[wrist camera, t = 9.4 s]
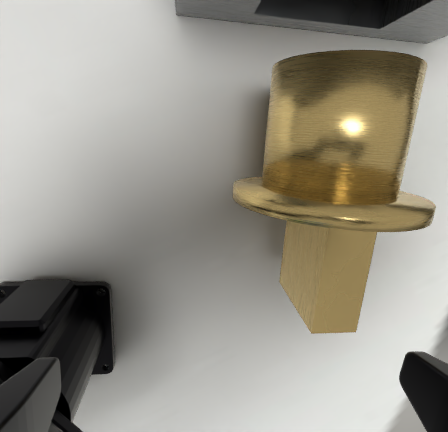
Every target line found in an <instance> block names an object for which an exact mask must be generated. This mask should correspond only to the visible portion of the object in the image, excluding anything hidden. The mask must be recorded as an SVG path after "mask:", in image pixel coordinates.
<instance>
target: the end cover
mask: <svg viewBox="0 0 448 432" xmlns="http://www.w3.org/2000/svg"><path fill="white" fill-rule="evenodd" d="M426 69H427V63H426V61H424V60H423V59H421V58H418V57H416V56H412V55H408V54H403V53H397V52H389V51H376V50H339V51H326V52H316V53H309V54H303V55H298V56H294V57H290V58H287V59H284V60H281V61H279V62H277V63H276V64H275V65H274V66H273V68H272V79H271V89H270V100H269V111H268V121H267V132H266V142H265V153H264V164H263V174H262V177H250V178H243V179H240V180H237V181H235V182H234V186H233V199H234V200H235V202H236V203H238V204H239V205H241V206H243V207H245V208H247V209H249V210H252V211H255V212H257V213H261V214H264V215H267V216H270V217H274V218H278V219H282V220H287V223H286V231H285V239H284V248H283V256H282V264H281V272H280V281H279V282H280V284H281V285H282V287H283V289H284V290H285V292H286V293H287V295H288V297H289V298H290V300H291V302H292V303H293V305H294V306H295V308H296V310H297V311H298V313H299V314H300V316H301V318H302V319H303V321H304V322H305V324H306V326H307V327H308V329H309V331H310V332H311V333H343V332H356V330H357V325H358V320H359V315H360V311H361V306H362V301H363V296H364V292H365V287H366V282H367V277H368V273H369V268H370V263H371V258H372V254H373V249H374V244H375V239H376V235H377V232H401V231H412V230H418V229H422V228H425V227H427V226H429V225H430V224H431V223H432V220H433V216H434V212H435V208H436V206H435V204H434V203H433V202H431V201H429V200H427V199H425V198H422V197H420V196H417V195H413V194H410V193H406V192H402V191H399V190H400V186H401V181H402V177H403V172H404V168H405V163H406V159H407V154H408V150H409V145H410V141H411V136H412V132H413V127H414V123H415V118H416V114H417V109H418V105H419V100H420V96H421V91H422V87H423V82H424V78H425V73H426Z"/></svg>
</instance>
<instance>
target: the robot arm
mask: <svg viewBox="0 0 448 432" xmlns="http://www.w3.org/2000/svg"><path fill="white" fill-rule="evenodd" d="M98 289H103V290H104V291H105V293H101V292H99V290H98ZM1 290H4V291H5V292H6V294H3V293H2V292H1ZM105 364H106V365H109V366H105ZM114 365H115V355H114V335H113V315H112V295H111V287H110V285H109V284H107V283H106V282H73V281H71V280H26V281H25V282H18V283H0V432H83V431H81V430H80V429H79V428H78V427H77V426H76V425H74V424H73V423H72V422H73V419H74V417H75V414H76V411H77V409H78V406H79V404H80V401H81V399H82V396H83V394H84V391H85V389H86V386H87V384H88V381H89V379H90V376H91V375H93V374H108V373H110V372H112V370H113V368H114ZM399 380H400V384H401V386H402V388H403V390H404V392H405V393H406V395H407V397H408V399H409V401H410V402H411V404H412V406H413V408H414V409H415V411H416V413H417V415H418V417H419V419H420V420H421V422H422V424H423V426H424V427H425V429H426V431H427V432H448V364H447V363H445V362H443V361H441V360H439V359H437V358H435V357H433V356H431V355H429V354H427V353H425V352H408V353H407V354H406V355H405V358H404V362H403V365H402V368H401V371H400V375H399Z"/></svg>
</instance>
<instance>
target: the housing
mask: <svg viewBox="0 0 448 432" xmlns="http://www.w3.org/2000/svg"><path fill="white" fill-rule="evenodd" d="M175 5H176V15H182V16H191V17H199V18H208V19H217V20H226V21H234V22H243V23H252V24H261V25H270V26H278V27H287V28H296V29H305V30H313V31H322V32H331V33H340V34H348V35H357V36H366V37H375V38H383V39H392V40H401V41H410V42H419V43H429V42H432V41H434V40H437V39H440V38H442V37H445V36H448V0H175Z"/></svg>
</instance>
